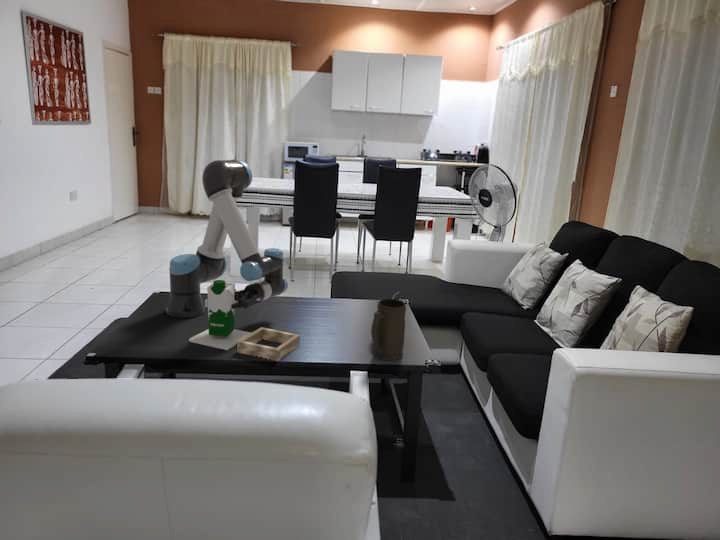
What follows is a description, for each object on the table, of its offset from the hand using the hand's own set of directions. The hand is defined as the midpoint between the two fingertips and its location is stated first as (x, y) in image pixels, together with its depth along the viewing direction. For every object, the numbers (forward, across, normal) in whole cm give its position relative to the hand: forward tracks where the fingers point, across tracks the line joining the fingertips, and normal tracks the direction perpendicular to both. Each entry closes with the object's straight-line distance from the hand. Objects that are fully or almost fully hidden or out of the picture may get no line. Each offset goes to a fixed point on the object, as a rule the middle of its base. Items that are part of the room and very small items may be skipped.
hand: (214, 305), depth 186 cm
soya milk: (-3, 0, -11) cm, 12 cm away
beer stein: (-26, -56, -14) cm, 63 cm away
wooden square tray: (-7, -20, -13) cm, 25 cm away
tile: (-3, 0, -13) cm, 14 cm away
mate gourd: (-58, -40, -14) cm, 72 cm away
